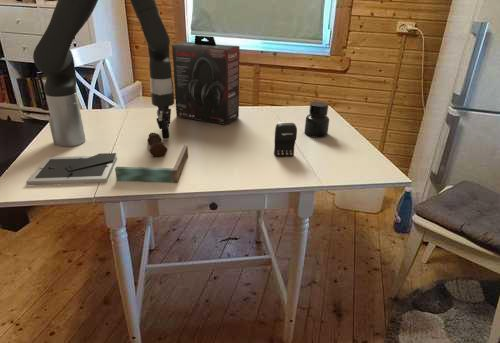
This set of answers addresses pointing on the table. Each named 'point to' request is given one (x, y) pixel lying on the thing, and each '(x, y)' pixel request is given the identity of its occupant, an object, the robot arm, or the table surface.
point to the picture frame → (74, 170)
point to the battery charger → (285, 139)
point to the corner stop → (154, 171)
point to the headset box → (206, 80)
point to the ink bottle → (317, 120)
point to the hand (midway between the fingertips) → (165, 138)
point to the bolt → (156, 146)
